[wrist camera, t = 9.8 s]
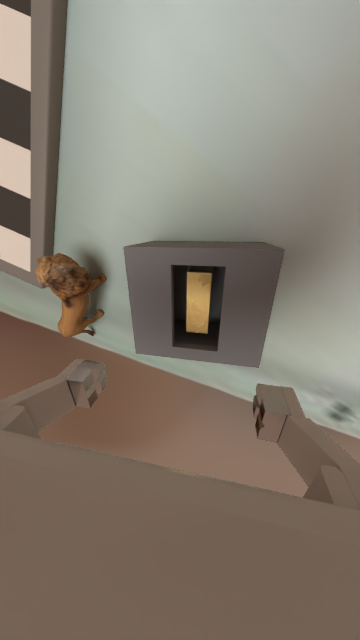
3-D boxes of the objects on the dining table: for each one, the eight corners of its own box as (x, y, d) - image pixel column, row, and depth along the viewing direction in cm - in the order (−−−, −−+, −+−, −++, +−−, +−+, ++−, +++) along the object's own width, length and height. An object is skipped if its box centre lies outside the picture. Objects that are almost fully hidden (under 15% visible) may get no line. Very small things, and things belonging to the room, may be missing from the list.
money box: (153, 241, 26) (123, 246, 18) (263, 242, 24) (284, 249, 16) (157, 321, 31) (136, 353, 23) (248, 329, 29) (258, 367, 21)
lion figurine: (73, 245, 29) (15, 252, 21) (106, 251, 28) (61, 261, 20) (82, 331, 35) (41, 361, 27) (109, 337, 35) (76, 370, 27)
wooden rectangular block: (194, 262, 25) (187, 272, 20) (213, 263, 25) (211, 273, 20) (192, 312, 28) (186, 331, 23) (210, 313, 28) (207, 333, 23)
